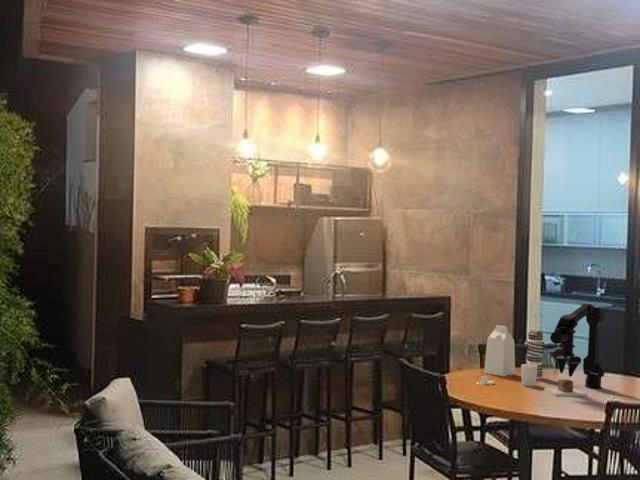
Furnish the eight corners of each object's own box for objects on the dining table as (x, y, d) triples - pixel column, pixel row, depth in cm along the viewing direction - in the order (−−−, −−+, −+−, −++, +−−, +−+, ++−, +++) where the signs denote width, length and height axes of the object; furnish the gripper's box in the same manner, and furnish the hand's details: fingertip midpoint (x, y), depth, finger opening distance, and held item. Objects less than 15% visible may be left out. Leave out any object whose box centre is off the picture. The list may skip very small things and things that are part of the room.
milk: (515, 374, 428) (516, 326, 428) (503, 376, 420) (504, 327, 420) (496, 370, 437) (497, 324, 436) (484, 373, 429) (485, 325, 428)
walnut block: (567, 389, 383) (568, 379, 383) (572, 391, 378) (573, 381, 378) (558, 389, 382) (558, 379, 382) (562, 391, 377) (563, 381, 377)
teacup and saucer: (495, 384, 400) (495, 376, 400) (492, 386, 392) (492, 378, 392) (478, 382, 403) (478, 374, 403) (474, 384, 396) (475, 376, 396)
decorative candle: (540, 379, 414) (542, 332, 413) (523, 377, 418) (524, 330, 418) (545, 377, 421) (547, 330, 421) (528, 375, 426) (529, 329, 426)
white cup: (537, 387, 394) (537, 367, 393) (520, 385, 395) (521, 366, 395) (536, 384, 401) (536, 364, 401) (520, 383, 403) (520, 363, 403)
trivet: (575, 390, 387) (575, 388, 387) (586, 395, 375) (587, 393, 375) (544, 390, 385) (544, 388, 385) (555, 395, 373) (555, 393, 373)
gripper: (542, 339, 388) (541, 371, 388) (560, 345, 369) (558, 378, 369) (564, 339, 389) (562, 371, 389) (582, 345, 371) (581, 378, 371)
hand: (565, 374), depth 380 cm, fingers open, 9 cm apart
